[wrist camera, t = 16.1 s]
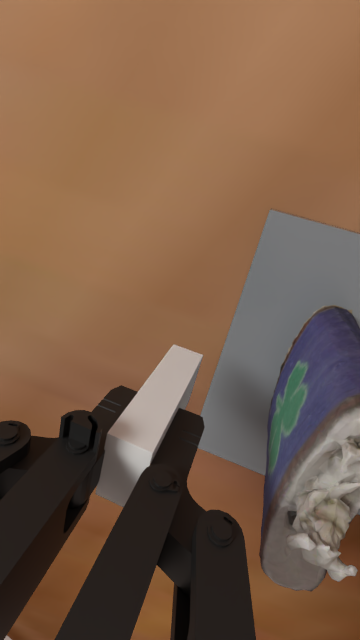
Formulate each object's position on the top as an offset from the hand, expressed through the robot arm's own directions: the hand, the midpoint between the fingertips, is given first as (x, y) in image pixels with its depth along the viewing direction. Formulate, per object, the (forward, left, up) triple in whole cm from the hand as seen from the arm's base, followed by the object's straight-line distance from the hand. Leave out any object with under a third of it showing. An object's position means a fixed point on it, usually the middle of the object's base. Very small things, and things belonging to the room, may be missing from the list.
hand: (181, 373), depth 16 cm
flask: (+6, 0, -5) cm, 8 cm away
